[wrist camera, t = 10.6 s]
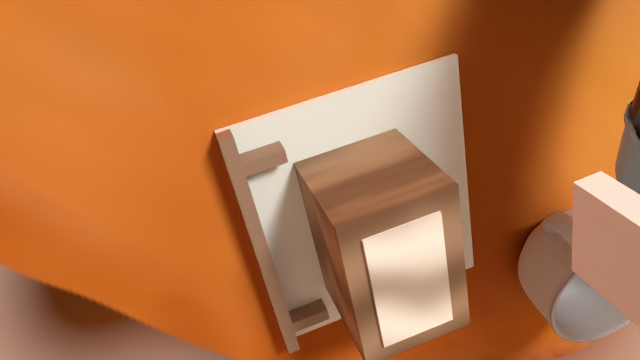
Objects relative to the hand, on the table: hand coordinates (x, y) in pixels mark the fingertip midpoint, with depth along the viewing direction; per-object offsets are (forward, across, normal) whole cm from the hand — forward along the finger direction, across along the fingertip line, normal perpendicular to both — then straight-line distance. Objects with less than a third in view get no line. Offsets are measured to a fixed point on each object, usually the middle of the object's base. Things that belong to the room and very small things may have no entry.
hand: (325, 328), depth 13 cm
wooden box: (+26, +8, -17) cm, 32 cm away
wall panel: (+27, +9, -17) cm, 33 cm away
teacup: (+27, +25, -27) cm, 46 cm away
